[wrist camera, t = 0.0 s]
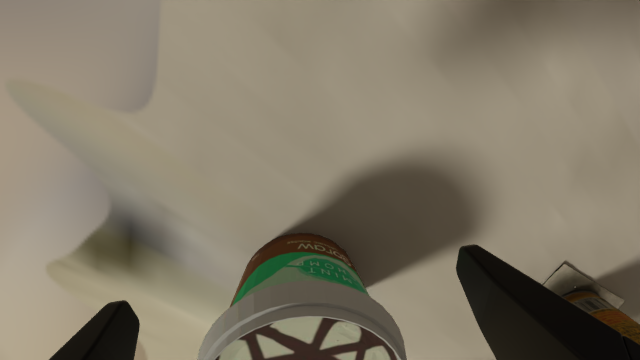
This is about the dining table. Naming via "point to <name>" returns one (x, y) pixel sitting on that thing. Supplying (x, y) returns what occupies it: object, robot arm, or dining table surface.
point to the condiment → (593, 300)
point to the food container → (302, 309)
